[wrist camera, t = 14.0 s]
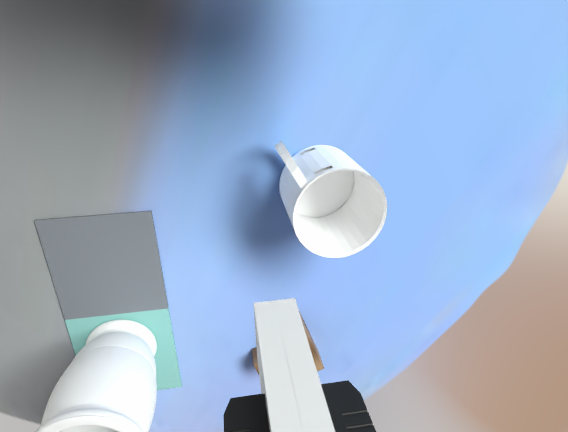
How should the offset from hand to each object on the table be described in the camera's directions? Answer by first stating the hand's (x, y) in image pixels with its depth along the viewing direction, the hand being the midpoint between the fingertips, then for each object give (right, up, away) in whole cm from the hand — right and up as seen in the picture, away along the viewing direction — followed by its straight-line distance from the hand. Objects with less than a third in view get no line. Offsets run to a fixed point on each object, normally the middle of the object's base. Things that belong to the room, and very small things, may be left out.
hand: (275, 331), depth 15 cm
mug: (+3, +9, +30) cm, 32 cm away
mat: (-20, -8, +34) cm, 40 cm away
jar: (-20, -12, +35) cm, 42 cm away
